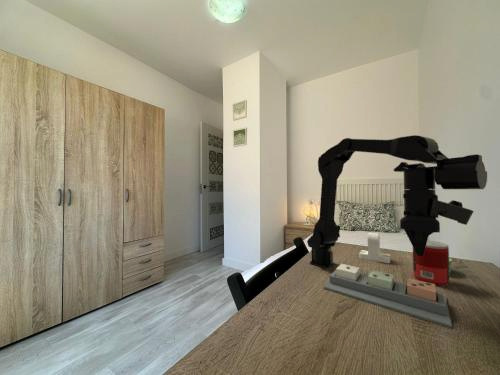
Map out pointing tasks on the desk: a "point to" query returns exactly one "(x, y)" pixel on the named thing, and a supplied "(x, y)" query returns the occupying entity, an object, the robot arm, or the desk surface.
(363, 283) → the board
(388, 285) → the tile
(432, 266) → the canned food
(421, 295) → the tile
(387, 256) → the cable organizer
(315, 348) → the desk surface
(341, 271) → the tile
